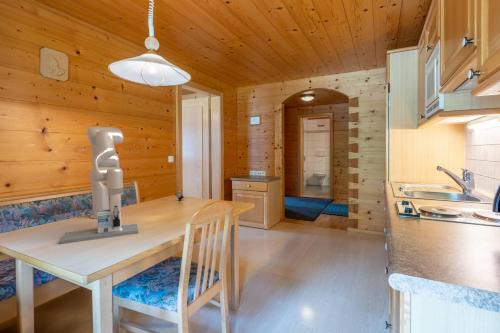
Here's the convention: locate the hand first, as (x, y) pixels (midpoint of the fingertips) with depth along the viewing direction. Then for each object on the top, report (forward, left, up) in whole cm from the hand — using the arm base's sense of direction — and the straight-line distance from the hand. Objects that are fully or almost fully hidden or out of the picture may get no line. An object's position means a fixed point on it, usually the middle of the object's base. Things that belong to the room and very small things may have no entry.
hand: (116, 224), depth 140 cm
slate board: (0, -7, -4) cm, 8 cm away
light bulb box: (0, -3, -3) cm, 4 cm away
